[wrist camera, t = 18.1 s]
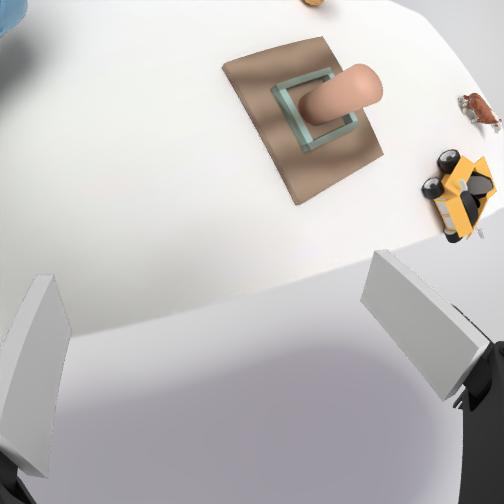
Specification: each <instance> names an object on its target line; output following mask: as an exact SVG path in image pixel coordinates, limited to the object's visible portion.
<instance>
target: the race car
mask: <svg viewBox="0 0 504 504" xmlns="http://www.w3.org/2000/svg"><path fill="white" fill-rule="evenodd" d="M438 162H439V164H440V166H441V168H442V170H443V172H444V173H445V176H444V177H443V179H442V180H440V179H439V178H437V177H434V178H431V179H429V180H427V181H426V182H425V183H424V185H423V190H424V192H425V194H426V196H427V198H428V199H434V201H435V203H436V206H437V208H438V210H439V212H440V214H441V216H442V218H443V220H444V223H445V225H446V228H445V229H444V233H445V235H446V238H447V240H448V241H449V242H450V243H456V242H458V241H460V240H461V239H462V238H463V236H465V235H467V234H469V235H468V237H467V239H468V238H469V236H470V235H471V233H472V232H473V230H474V229H476V230H478V232H479V236H480V238H483V239H484V238H485V234H484V231H483V229H478V228H477V227H475V226H476V224H477V222H478V220H479V218H480V216H481V214H482V212H483V210H484V208H485V205H486V203H487V201H488V199H489V198H490V197H491V196H492V195H493V194H494V193H496V192H497V190H496V187H495V184H494V182H493V179H492V176H491V173H490V171H489V168H488V165H487V163H486V160H485V158H484V156H483V157H482V158H480V159H479V160H478V161H477V162H476V163H472V162H471V161H470V160H468V159H467V158H465V157H464V156H462V157H461V156H460V154H459V152H458V151H457V150H454V149H452V150H448V151H446V152H444V153H442V154H441V155H440V157H439V158H438Z"/></svg>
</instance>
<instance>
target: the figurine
mask: <svg viewBox="0 0 504 504" xmlns="http://www.w3.org/2000/svg"><path fill="white" fill-rule="evenodd" d="M304 1H305V2H306V3H308V4H310V5H319V4H321V3H323V2H324V0H304Z"/></svg>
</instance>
